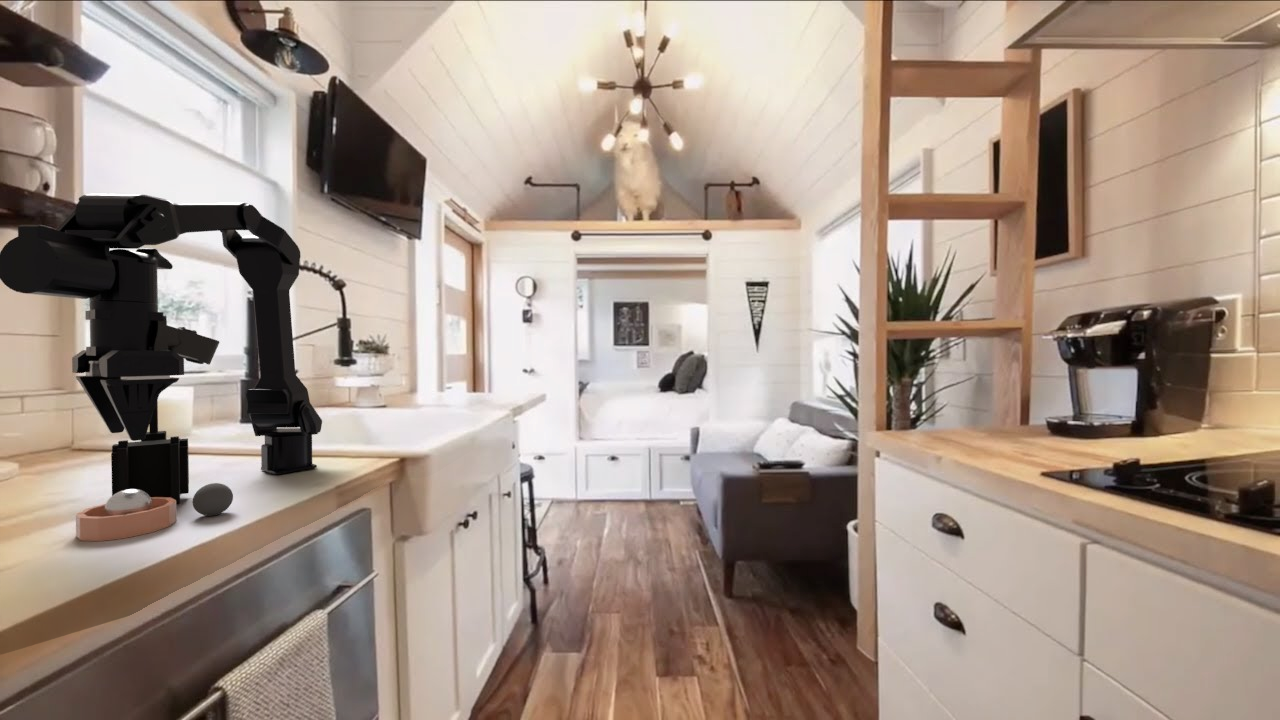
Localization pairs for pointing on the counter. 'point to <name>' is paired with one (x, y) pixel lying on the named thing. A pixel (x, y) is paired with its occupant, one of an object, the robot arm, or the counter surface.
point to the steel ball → (128, 502)
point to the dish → (125, 521)
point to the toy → (152, 464)
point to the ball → (212, 499)
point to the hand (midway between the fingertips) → (127, 436)
